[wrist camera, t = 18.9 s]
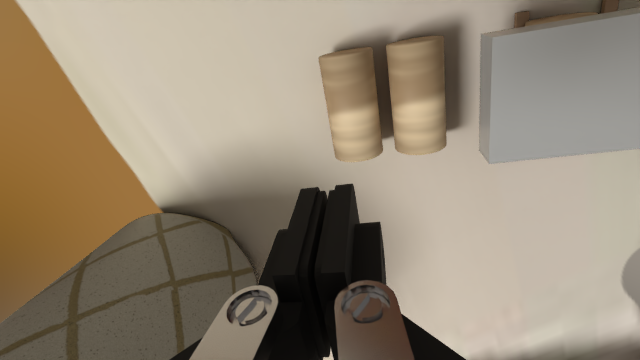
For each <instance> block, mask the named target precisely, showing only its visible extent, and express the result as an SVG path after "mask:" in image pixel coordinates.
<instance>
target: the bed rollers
mask: <svg viewBox="0 0 640 360" xmlns="http://www.w3.org/2000/svg"><path fill="white" fill-rule="evenodd" d="M618 3H619V0H603V1H602V8H601V14H602V13H608V12H614V11H617V9H618ZM527 21H529V11H525V12H519V13H515V24H514V28H519V27H525V22H527ZM386 52H387V63H388V74H389V85H390V96H391V107H392V118H393V129H394V140H395V149H396V150H397V151H398V152H400V153H403V154H408V155H424V154H430V153H434V152H437V151H440V150H442V149H443V148H444V147H445V146H446V105H445V65H444V36H425V37H417V38H411V39H406V40H401V41H397V42H393V43H390V44H387V45H386ZM319 63H320V69H321V75H322V81H323V87H324V93H325V99H326V104H327V110H328V116H329V122H330V128H331V134H332V140H333V146H334V151H335V157H336V158H337V159H338V160H340V161H344V162H360V161H365V160H369V159H372V158H375V157H377V156H378V155H380V154H381V153H382V151H383V145H382V136H381V126H380V117H379V108H378V99H377V89H376V80H375V71H374V61H373V52H372V48H371V47H363V48H354V49H347V50H342V51H337V52H333V53H329V54H325V55H322V56H320V57H319Z"/></svg>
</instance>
